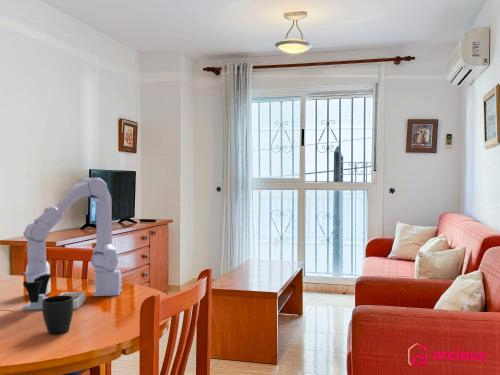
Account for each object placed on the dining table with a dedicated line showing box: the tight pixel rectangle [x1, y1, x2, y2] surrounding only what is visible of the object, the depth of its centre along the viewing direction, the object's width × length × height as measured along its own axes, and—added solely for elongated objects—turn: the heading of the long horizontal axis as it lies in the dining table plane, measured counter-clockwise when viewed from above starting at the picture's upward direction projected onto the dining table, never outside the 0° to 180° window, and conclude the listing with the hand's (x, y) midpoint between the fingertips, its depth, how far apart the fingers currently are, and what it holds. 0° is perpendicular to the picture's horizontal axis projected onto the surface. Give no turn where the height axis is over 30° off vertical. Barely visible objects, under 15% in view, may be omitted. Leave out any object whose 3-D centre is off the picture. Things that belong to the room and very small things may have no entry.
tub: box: [58, 291, 86, 311], centre depth 165 cm, size 8×12×3 cm, turn 6°
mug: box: [41, 294, 74, 336], centre depth 139 cm, size 8×12×10 cm
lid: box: [22, 294, 49, 311], centre depth 165 cm, size 9×13×4 cm
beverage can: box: [25, 260, 51, 296], centre depth 180 cm, size 8×8×12 cm
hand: (38, 299), depth 161 cm, fingers open, 7 cm apart
